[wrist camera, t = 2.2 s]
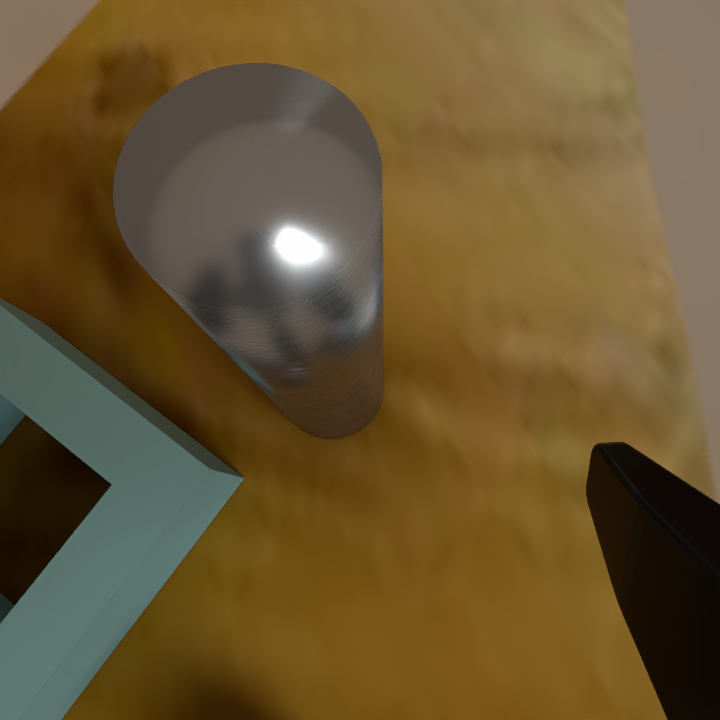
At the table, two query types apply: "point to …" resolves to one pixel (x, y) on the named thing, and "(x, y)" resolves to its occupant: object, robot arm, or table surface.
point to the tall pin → (267, 233)
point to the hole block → (95, 516)
